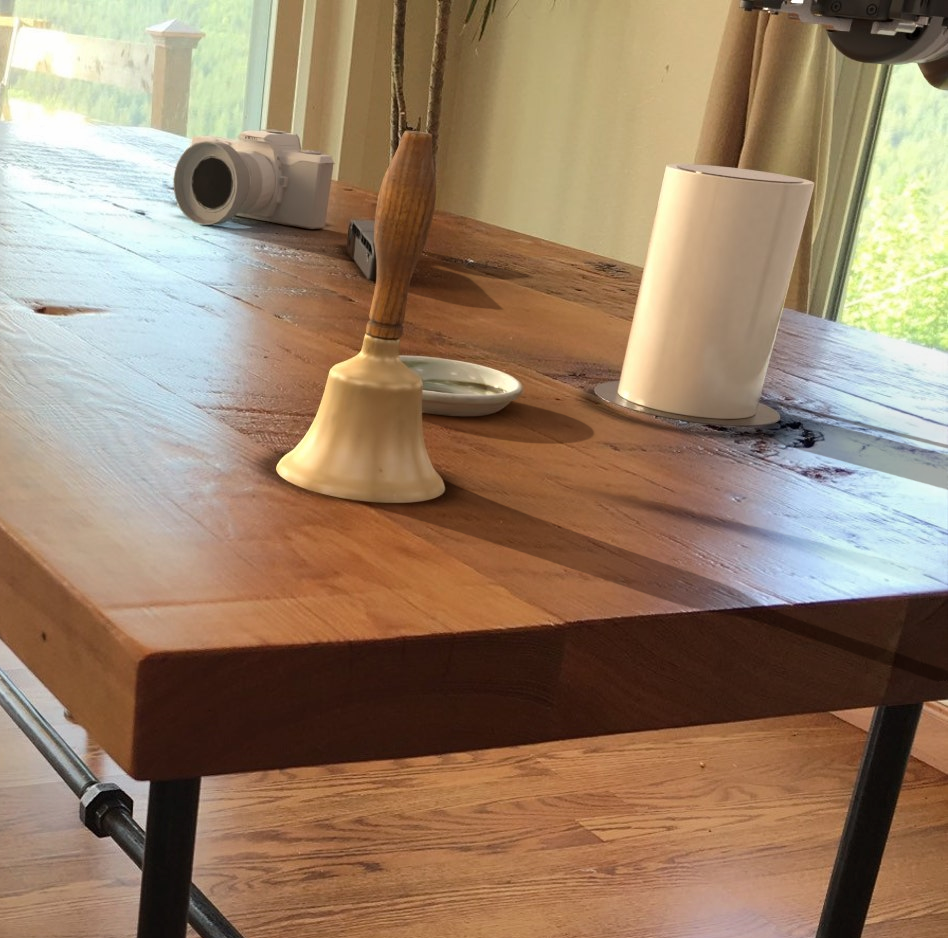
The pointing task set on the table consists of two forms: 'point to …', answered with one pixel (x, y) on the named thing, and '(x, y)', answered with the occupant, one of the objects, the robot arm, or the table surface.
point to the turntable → (611, 395)
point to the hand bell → (379, 364)
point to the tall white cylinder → (713, 289)
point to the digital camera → (253, 180)
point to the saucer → (462, 387)
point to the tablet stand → (363, 246)
